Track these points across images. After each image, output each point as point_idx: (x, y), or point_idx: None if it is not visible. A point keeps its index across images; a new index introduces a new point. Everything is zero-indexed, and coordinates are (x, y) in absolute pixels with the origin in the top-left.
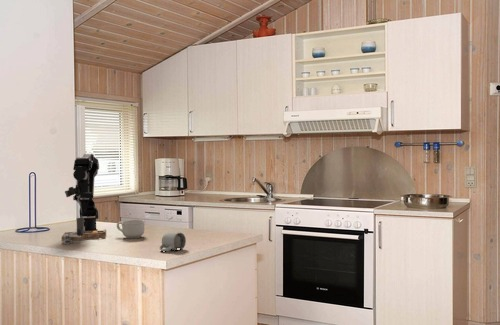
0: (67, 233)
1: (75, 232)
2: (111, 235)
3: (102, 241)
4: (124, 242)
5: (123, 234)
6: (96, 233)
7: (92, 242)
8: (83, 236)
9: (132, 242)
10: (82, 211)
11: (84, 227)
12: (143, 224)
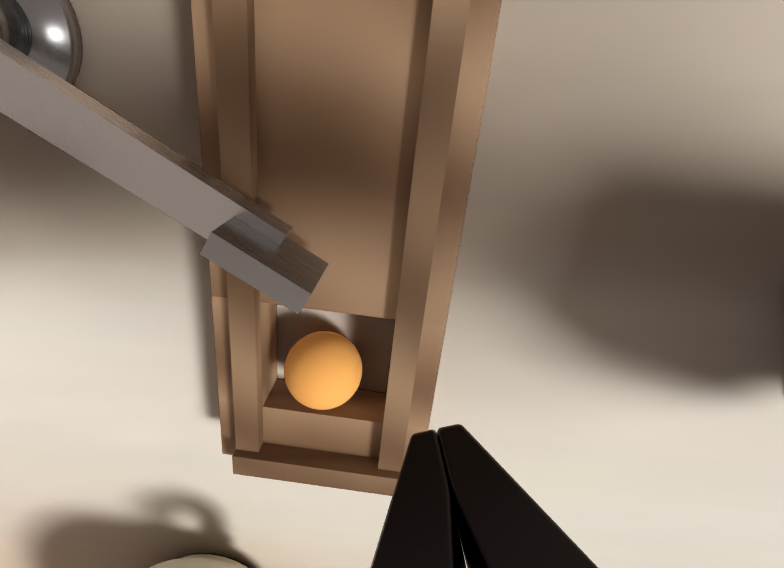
0: (431, 5)
1: (84, 150)
2: None
3: (83, 387)
4: (20, 515)
5: (171, 566)
6: (234, 388)
7: (42, 305)
8: None
9: (17, 553)
10: (398, 500)
11: (291, 301)
12: None
